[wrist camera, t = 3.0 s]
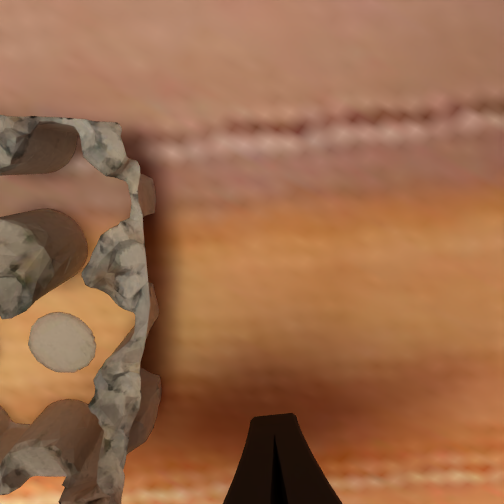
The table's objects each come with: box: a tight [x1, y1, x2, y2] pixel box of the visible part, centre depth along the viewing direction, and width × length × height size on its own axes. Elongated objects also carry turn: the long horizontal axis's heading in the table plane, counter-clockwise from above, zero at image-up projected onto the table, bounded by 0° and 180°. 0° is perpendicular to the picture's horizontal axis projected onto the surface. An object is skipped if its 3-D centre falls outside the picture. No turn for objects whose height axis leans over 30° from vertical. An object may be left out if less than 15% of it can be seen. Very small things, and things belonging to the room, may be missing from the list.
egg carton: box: [0, 115, 162, 504], centre depth 9 cm, size 11×8×4 cm
